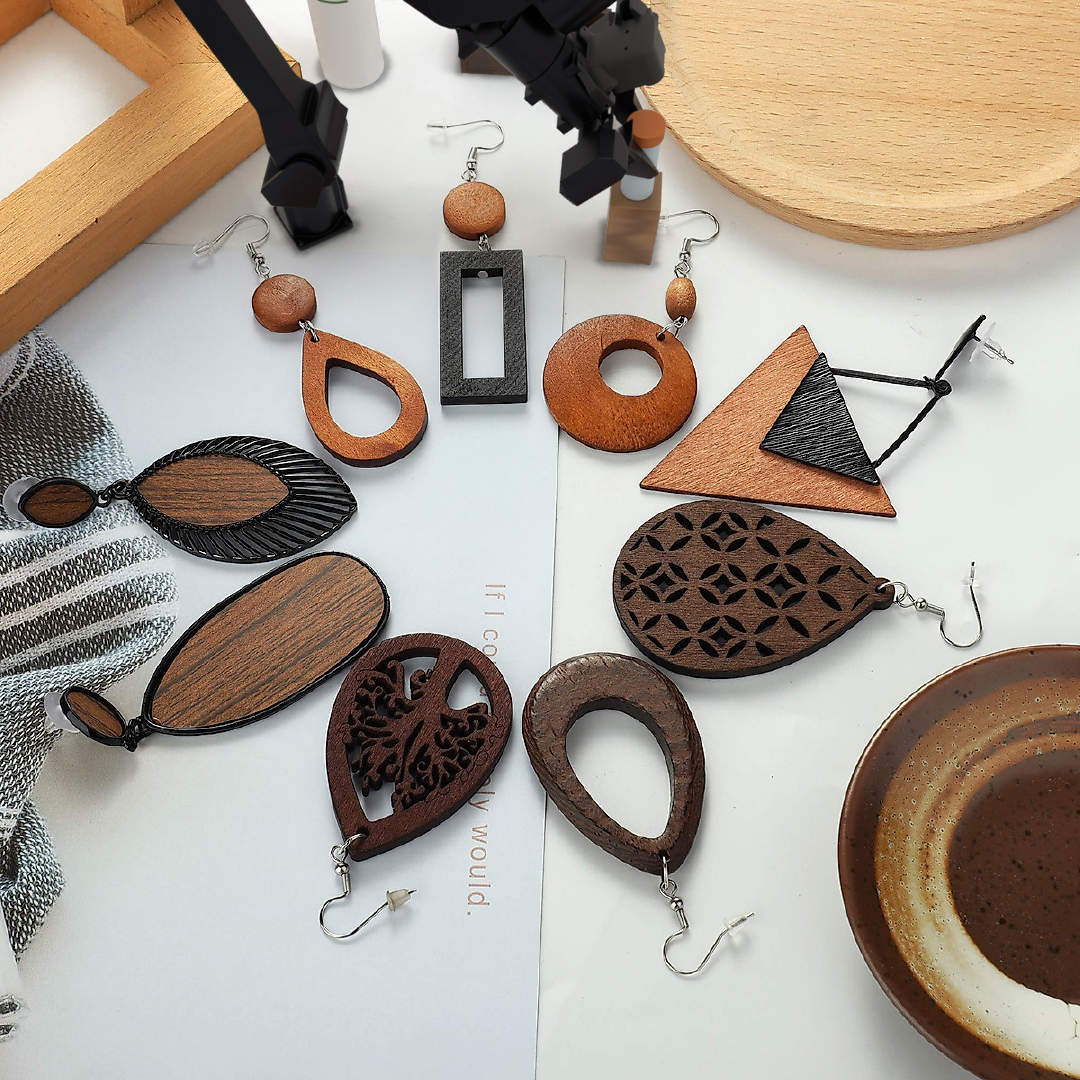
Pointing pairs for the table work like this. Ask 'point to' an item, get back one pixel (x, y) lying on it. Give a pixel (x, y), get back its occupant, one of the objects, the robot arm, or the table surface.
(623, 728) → the table surface
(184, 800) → the table surface
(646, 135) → the test tube
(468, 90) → the table surface
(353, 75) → the cylindrical container
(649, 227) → the tube stand
